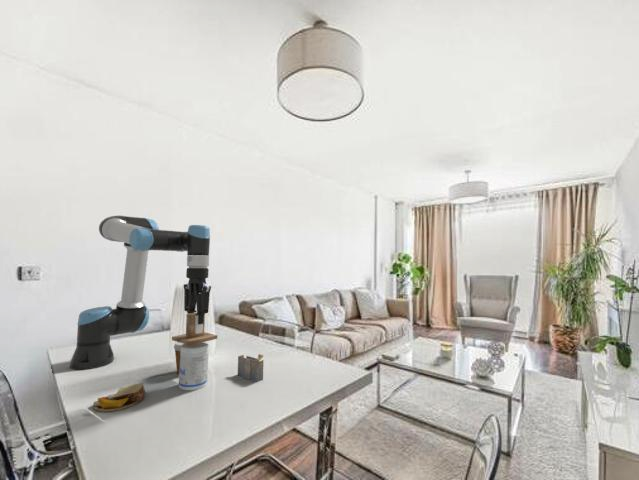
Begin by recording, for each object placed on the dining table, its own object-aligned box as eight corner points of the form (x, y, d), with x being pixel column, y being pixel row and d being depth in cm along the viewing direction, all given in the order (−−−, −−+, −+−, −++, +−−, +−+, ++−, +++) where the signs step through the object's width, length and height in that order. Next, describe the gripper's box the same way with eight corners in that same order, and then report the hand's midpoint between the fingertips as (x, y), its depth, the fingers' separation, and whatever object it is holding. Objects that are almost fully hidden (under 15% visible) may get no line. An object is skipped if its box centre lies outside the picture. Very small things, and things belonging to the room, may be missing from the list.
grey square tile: (127, 387, 109) (127, 385, 109) (160, 376, 119) (160, 375, 119) (144, 395, 102) (144, 394, 102) (178, 384, 112) (178, 383, 112)
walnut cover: (171, 340, 110) (173, 314, 111) (199, 334, 119) (200, 310, 120) (190, 345, 104) (191, 317, 105) (217, 338, 113) (218, 313, 114)
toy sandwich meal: (105, 397, 102) (106, 382, 102) (150, 394, 104) (150, 380, 105) (84, 416, 89) (85, 399, 90) (135, 412, 92) (135, 396, 92)
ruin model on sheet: (263, 380, 118) (264, 354, 119) (258, 383, 116) (258, 356, 116) (243, 373, 124) (244, 349, 125) (237, 376, 122) (238, 351, 123)
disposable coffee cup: (189, 378, 118) (190, 346, 119) (167, 376, 120) (168, 344, 120) (203, 369, 127) (204, 340, 128) (182, 367, 129) (183, 338, 130)
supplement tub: (173, 386, 110) (175, 344, 111) (198, 379, 117) (200, 339, 118) (186, 394, 104) (188, 350, 105) (212, 386, 111) (214, 344, 112)
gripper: (175, 266, 115) (172, 330, 113) (202, 268, 106) (200, 337, 104) (193, 266, 121) (191, 327, 120) (220, 267, 112) (218, 333, 110)
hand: (195, 332), depth 112 cm, fingers closed on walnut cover, 3 cm apart
